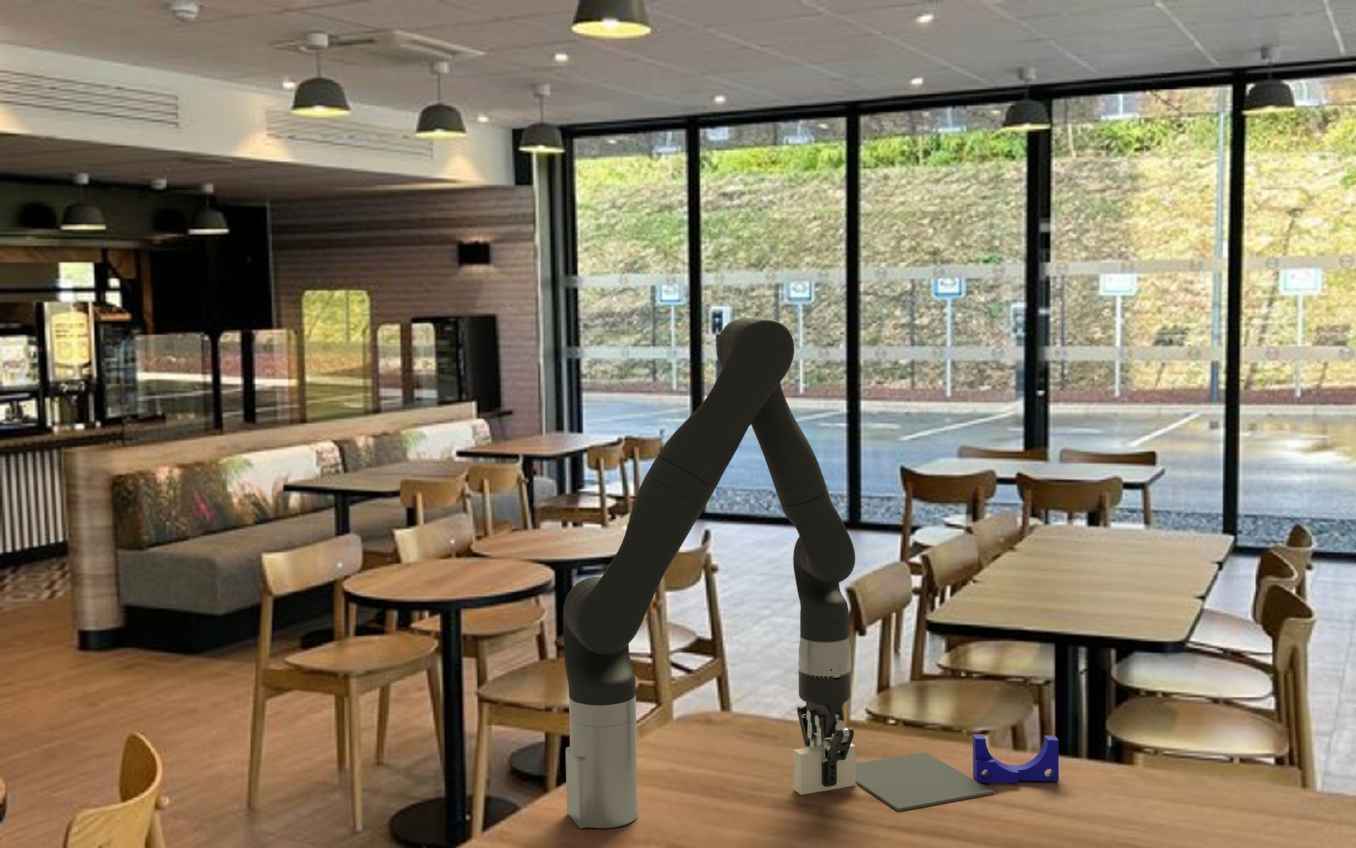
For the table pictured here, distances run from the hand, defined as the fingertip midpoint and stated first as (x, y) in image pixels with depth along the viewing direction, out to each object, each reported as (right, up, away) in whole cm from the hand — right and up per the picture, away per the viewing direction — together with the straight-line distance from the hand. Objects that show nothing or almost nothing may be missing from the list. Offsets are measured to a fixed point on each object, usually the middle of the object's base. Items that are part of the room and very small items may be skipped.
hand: (824, 782), depth 193 cm
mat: (+13, 0, +2) cm, 13 cm away
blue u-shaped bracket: (+28, 0, +2) cm, 29 cm away
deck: (0, -1, 0) cm, 1 cm away
